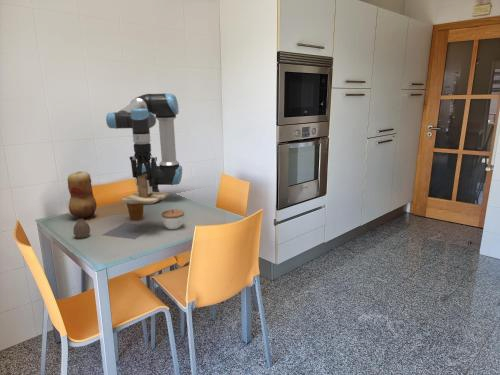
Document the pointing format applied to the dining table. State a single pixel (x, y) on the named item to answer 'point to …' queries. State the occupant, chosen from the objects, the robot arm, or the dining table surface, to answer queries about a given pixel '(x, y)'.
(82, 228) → the vase
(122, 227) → the rubber mat
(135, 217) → the disposable coffee cup
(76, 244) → the dining table surface
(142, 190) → the oak lid
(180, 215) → the lidded jar
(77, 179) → the butternut squash
